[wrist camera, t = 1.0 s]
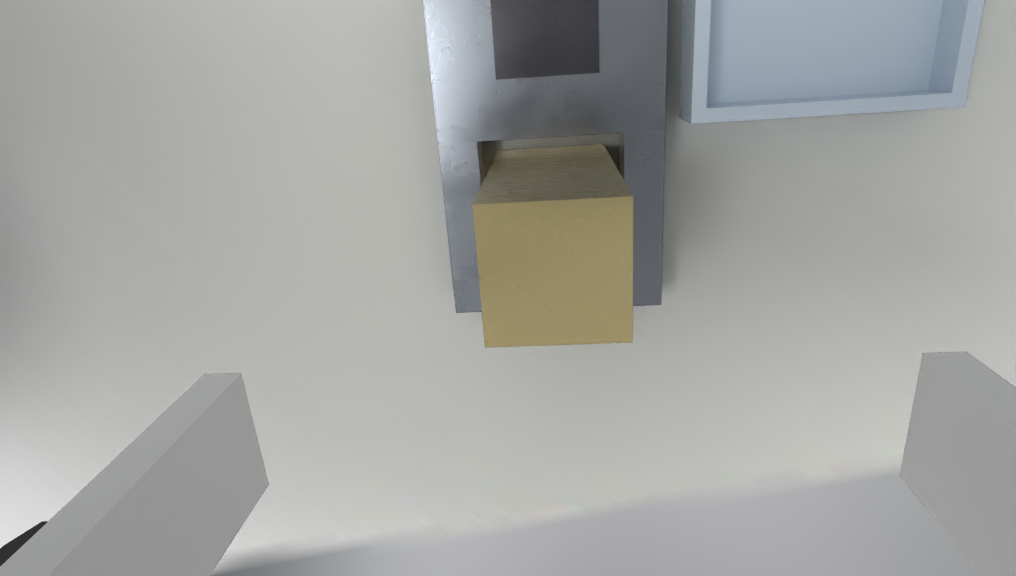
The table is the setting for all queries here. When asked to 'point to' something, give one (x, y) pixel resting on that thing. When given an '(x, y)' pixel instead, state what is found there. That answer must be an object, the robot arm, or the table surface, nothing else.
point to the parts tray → (824, 57)
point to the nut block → (555, 248)
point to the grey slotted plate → (549, 105)
